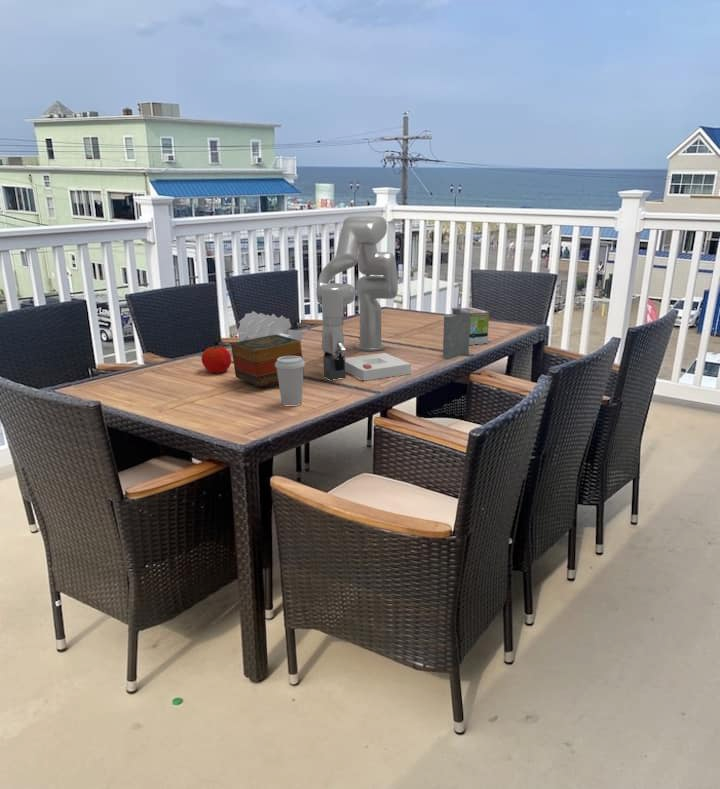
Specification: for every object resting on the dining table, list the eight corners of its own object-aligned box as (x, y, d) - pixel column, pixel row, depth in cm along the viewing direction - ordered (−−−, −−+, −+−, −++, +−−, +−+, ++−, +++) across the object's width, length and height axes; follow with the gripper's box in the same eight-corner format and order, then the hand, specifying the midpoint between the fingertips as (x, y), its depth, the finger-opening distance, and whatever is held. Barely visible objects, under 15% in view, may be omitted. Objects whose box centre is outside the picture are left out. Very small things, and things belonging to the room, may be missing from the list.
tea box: (488, 343, 276) (490, 311, 271) (469, 345, 272) (470, 313, 268) (470, 337, 289) (472, 306, 285) (452, 339, 286) (453, 307, 281)
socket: (340, 368, 237) (339, 356, 236) (384, 362, 246) (384, 350, 244) (363, 381, 220) (363, 368, 219) (410, 374, 229) (411, 361, 227)
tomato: (229, 366, 243) (227, 341, 240) (234, 374, 232) (232, 348, 229) (200, 369, 239) (198, 343, 236) (204, 377, 228) (202, 350, 225)
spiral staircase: (282, 370, 252) (242, 358, 266) (309, 345, 261) (269, 335, 276) (267, 334, 240) (226, 324, 255) (295, 310, 249) (255, 301, 264)
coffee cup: (307, 398, 202) (305, 354, 197) (305, 408, 192) (304, 362, 188) (278, 399, 201) (276, 355, 197) (275, 408, 192) (272, 362, 188)
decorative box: (307, 386, 218) (308, 341, 214) (248, 391, 207) (248, 342, 203) (284, 376, 235) (285, 333, 231) (229, 379, 224) (229, 335, 221)
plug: (323, 376, 227) (323, 356, 224) (338, 374, 229) (337, 354, 227) (330, 380, 222) (329, 359, 219) (345, 378, 224) (344, 357, 222)
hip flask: (447, 359, 249) (449, 311, 243) (439, 357, 252) (440, 309, 246) (469, 352, 260) (472, 306, 254) (462, 351, 263) (463, 305, 257)
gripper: (313, 318, 225) (315, 363, 230) (333, 326, 210) (334, 373, 215) (332, 316, 228) (333, 361, 233) (353, 324, 213) (353, 371, 218)
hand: (334, 367), depth 224 cm, fingers open, 9 cm apart
